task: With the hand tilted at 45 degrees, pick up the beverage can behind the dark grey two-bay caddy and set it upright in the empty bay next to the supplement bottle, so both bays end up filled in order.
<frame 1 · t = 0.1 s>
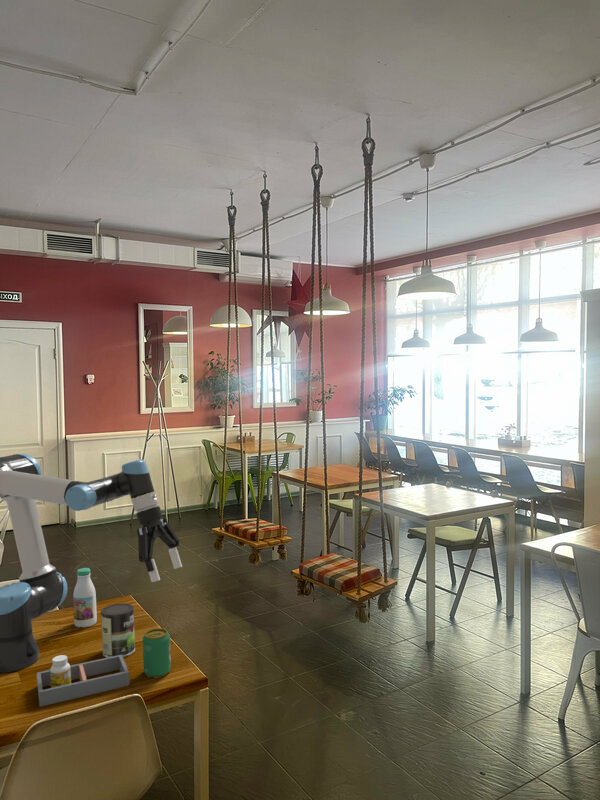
hand: (167, 574, 190), 28 cm above the table, tool tilted 20°, fingers open, 13 cm apart
caddy: (83, 685, 177), on the table
supplement bottle: (61, 691, 175), resting in caddy
beverage can: (157, 672, 185), on the table
milk bottle: (85, 624, 222), on the table
coffee can: (119, 652, 199), on the table
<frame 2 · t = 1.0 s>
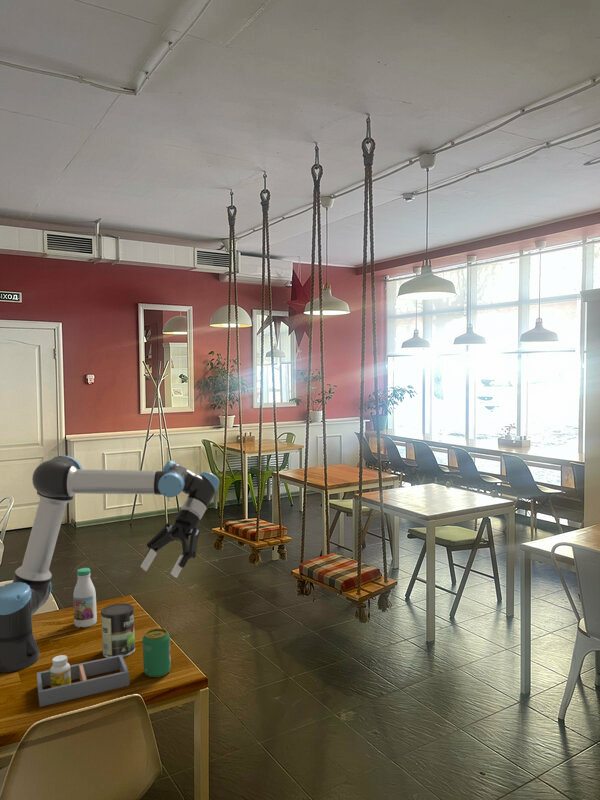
hand: (158, 572, 191), 28 cm above the table, tool tilted 45°, fingers open, 13 cm apart
nothing on the table moved.
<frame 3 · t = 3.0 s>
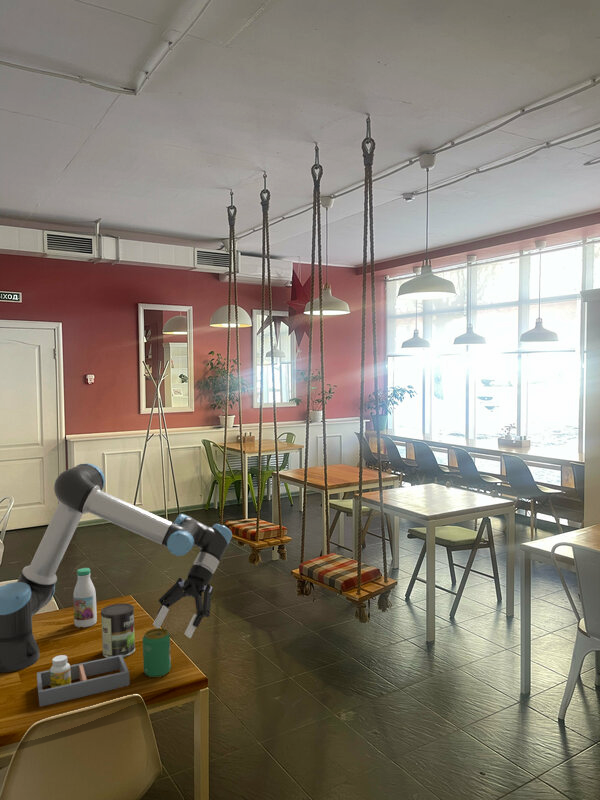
hand: (171, 631, 188), 11 cm above the table, tool tilted 45°, fingers open, 13 cm apart
nothing on the table moved.
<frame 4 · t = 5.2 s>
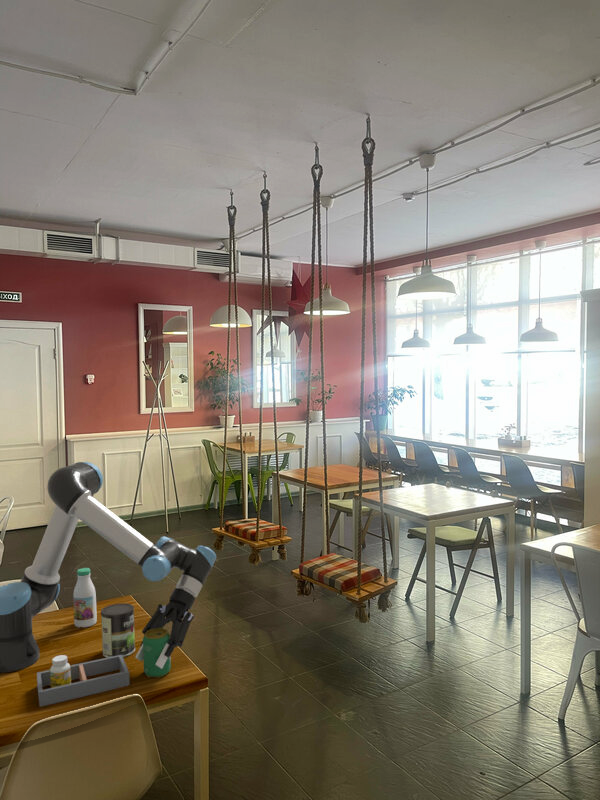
hand: (148, 663, 182), 4 cm above the table, tool tilted 45°, fingers closed on beverage can, 8 cm apart
beverage can: (157, 672, 185), on the table, touching gripper
everything else where it was.
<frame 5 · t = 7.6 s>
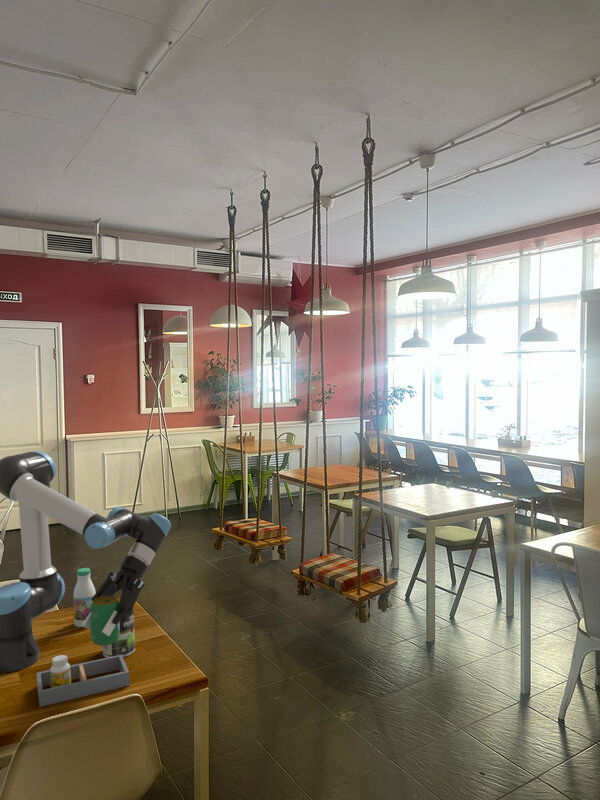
hand: (95, 630, 177), 16 cm above the table, tool tilted 45°, fingers closed on beverage can, 8 cm apart
beverage can: (105, 640, 180), point 12 cm above the table, touching gripper
everything else where it was.
when the fingers open (6 cm above the table, at t = 10.1 s): beverage can drops 2 cm, resting in caddy.
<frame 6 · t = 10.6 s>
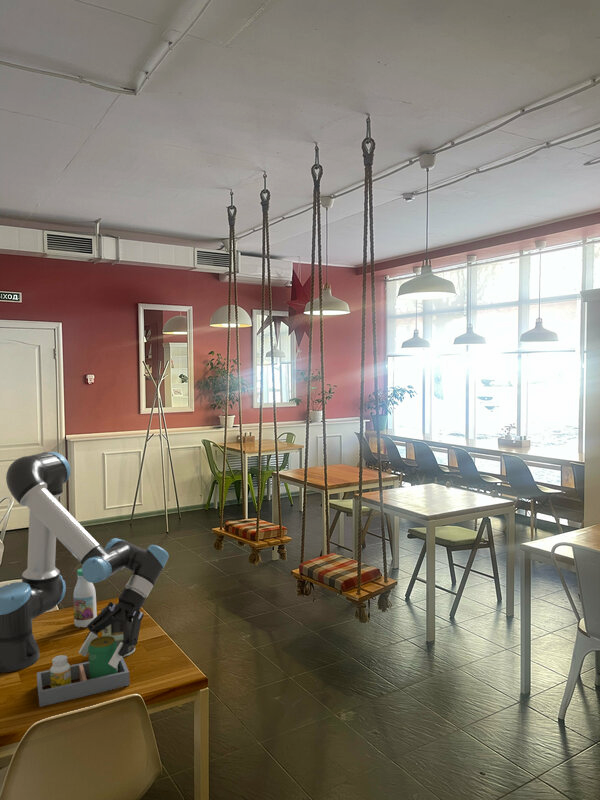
hand: (96, 660, 178), 7 cm above the table, tool tilted 45°, fingers open, 13 cm apart
beverage can: (103, 681, 180), resting in caddy
everything else where it was.
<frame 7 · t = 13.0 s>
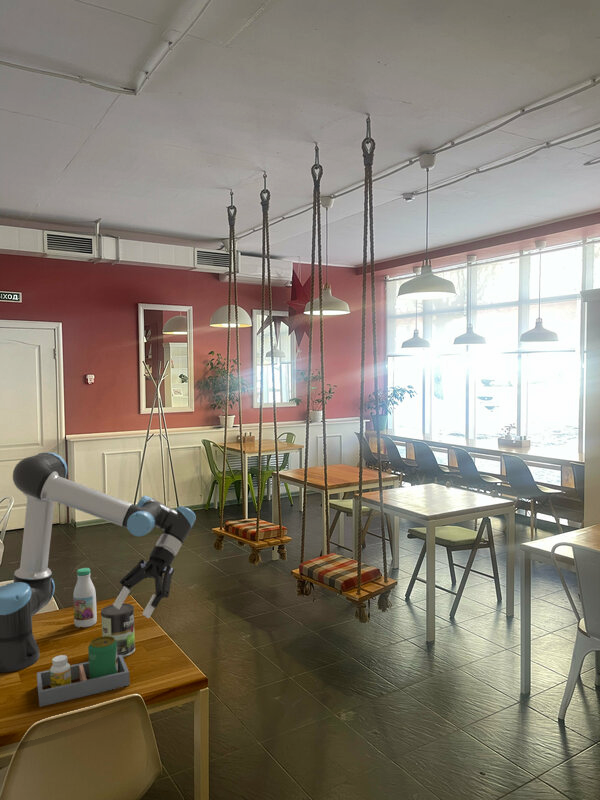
hand: (130, 611, 188), 17 cm above the table, tool tilted 45°, fingers open, 13 cm apart
nothing on the table moved.
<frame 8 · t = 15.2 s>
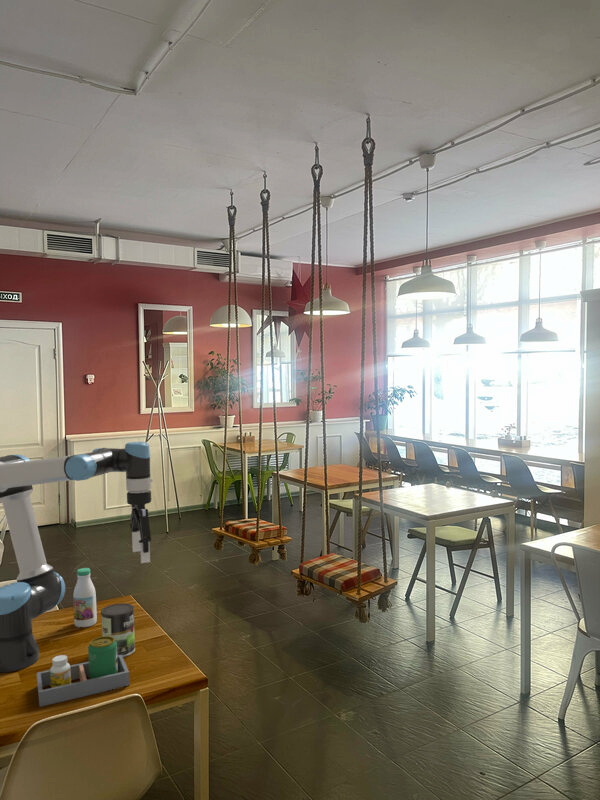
hand: (141, 556, 195), 32 cm above the table, tool pointing down, fingers open, 13 cm apart
nothing on the table moved.
at the end: beverage can 0.1 cm from the target spot on the caddy, point 0.0 cm above the caddy's base; beverage can tilted 0°; supplement bottle moved 0.2 cm from its start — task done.
